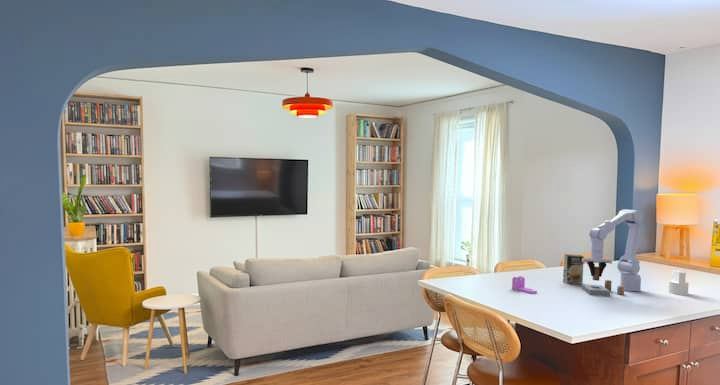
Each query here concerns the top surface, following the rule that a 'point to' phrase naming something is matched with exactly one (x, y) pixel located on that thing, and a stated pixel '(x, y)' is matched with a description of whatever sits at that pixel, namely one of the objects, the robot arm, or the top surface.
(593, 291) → the hole board
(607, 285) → the mid dowel
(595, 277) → the tall dowel
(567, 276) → the coffee box
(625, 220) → the robot arm
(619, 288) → the short dowel
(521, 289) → the bracket
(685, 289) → the base with upright slab
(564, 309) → the top surface
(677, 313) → the top surface
